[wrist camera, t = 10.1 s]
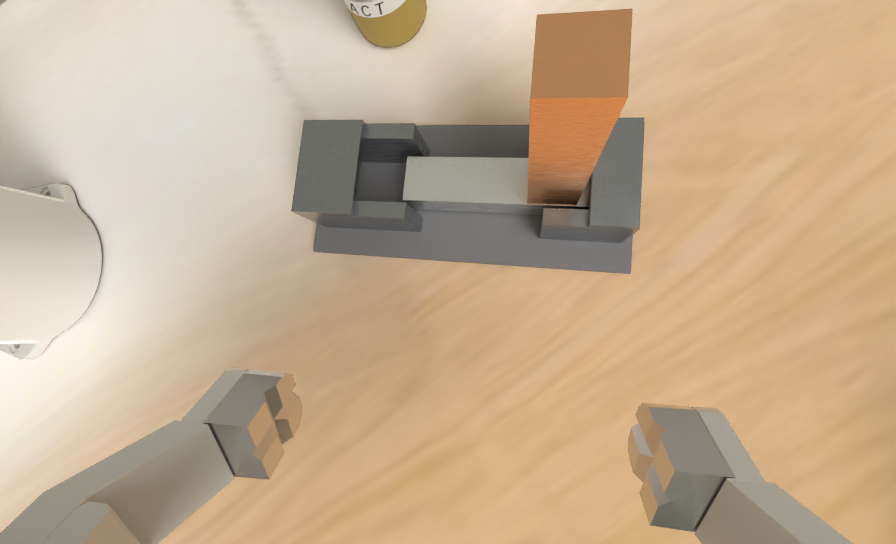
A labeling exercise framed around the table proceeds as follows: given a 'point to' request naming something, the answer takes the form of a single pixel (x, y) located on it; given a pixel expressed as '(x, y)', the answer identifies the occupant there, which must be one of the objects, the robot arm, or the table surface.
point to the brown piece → (543, 125)
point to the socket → (606, 192)
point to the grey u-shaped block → (352, 173)
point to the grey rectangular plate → (468, 216)
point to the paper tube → (388, 19)
